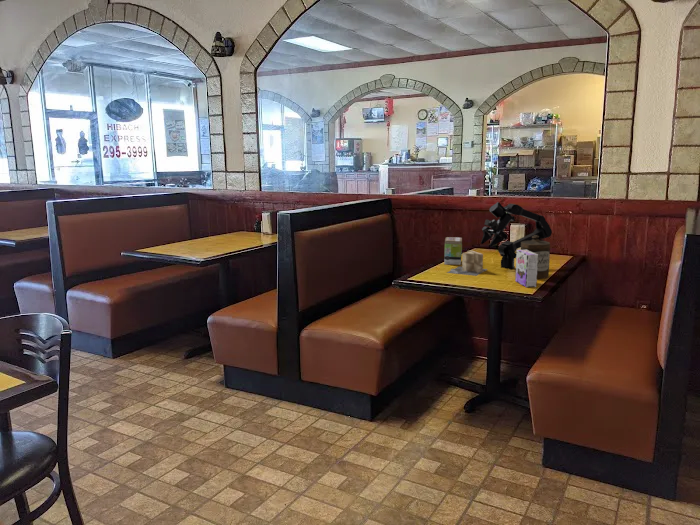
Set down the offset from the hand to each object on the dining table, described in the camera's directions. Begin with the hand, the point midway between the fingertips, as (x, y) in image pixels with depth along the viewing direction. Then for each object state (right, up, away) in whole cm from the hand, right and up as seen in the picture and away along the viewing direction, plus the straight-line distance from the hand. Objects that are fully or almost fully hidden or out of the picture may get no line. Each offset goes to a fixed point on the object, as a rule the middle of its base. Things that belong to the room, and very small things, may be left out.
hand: (485, 244), depth 309 cm
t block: (-8, -14, 0) cm, 16 cm away
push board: (-10, -15, -1) cm, 18 cm away
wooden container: (+22, -17, -14) cm, 31 cm away
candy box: (+12, -21, -31) cm, 40 cm away
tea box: (-14, -10, +24) cm, 30 cm away
